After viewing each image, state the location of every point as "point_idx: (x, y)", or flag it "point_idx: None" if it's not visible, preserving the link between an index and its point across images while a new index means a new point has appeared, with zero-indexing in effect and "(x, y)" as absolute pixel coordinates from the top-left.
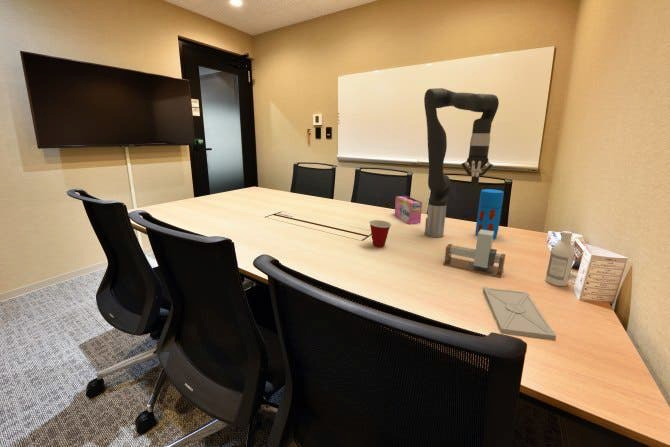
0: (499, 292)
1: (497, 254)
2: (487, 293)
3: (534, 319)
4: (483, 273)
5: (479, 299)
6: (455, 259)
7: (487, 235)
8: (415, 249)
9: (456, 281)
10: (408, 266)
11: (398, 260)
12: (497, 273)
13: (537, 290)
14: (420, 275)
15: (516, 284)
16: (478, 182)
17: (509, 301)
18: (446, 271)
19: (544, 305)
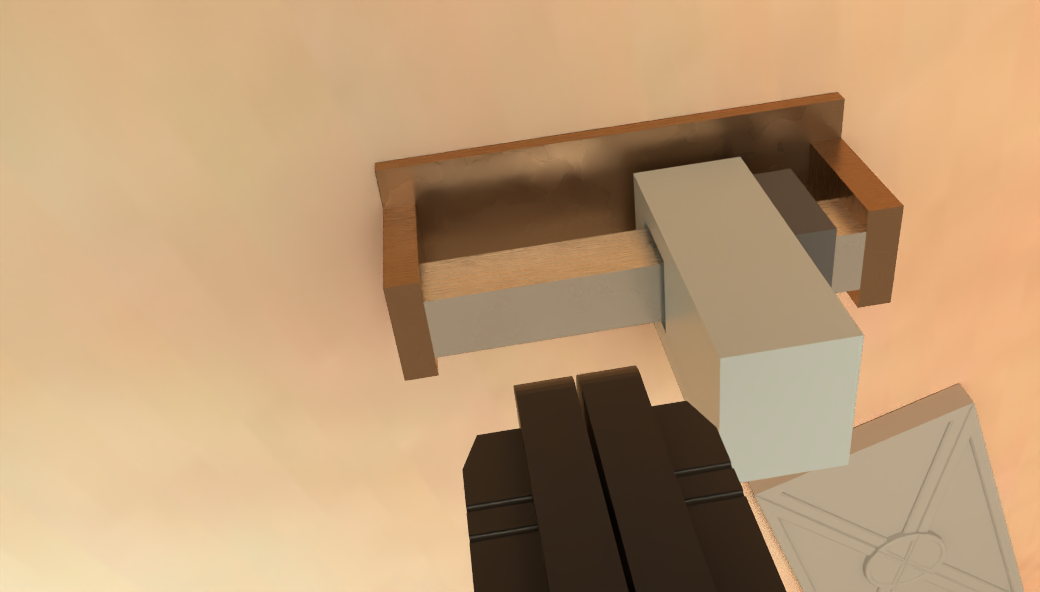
0: (834, 482)
1: (837, 256)
2: (780, 532)
3: (972, 578)
4: None
5: None
6: (453, 194)
7: (806, 467)
8: (4, 169)
9: None
10: (234, 483)
11: (105, 454)
12: None
13: (1036, 274)
14: (376, 529)
15: (921, 277)
16: (718, 447)
17: (881, 523)
18: (479, 390)
19: (1036, 410)
